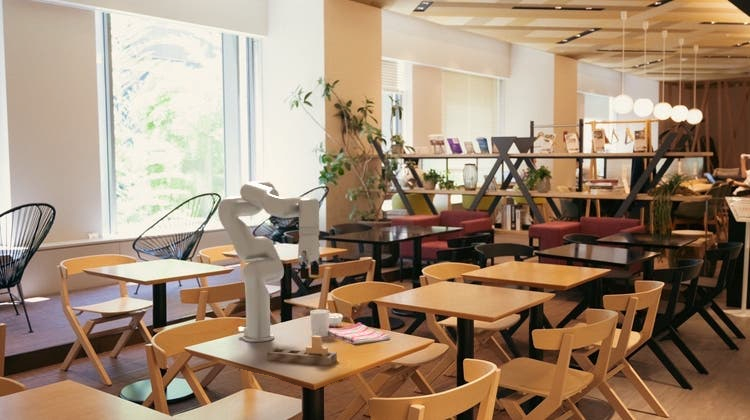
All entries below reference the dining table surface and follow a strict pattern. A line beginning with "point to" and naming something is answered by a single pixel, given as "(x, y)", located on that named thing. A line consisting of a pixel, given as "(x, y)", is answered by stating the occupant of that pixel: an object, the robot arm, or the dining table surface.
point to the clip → (317, 347)
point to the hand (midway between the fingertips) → (309, 276)
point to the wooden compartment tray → (300, 357)
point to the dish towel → (358, 334)
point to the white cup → (319, 322)
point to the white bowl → (334, 319)
